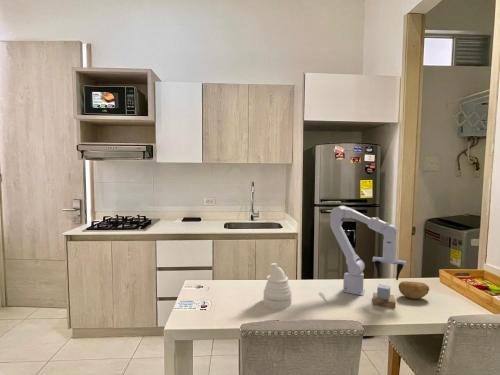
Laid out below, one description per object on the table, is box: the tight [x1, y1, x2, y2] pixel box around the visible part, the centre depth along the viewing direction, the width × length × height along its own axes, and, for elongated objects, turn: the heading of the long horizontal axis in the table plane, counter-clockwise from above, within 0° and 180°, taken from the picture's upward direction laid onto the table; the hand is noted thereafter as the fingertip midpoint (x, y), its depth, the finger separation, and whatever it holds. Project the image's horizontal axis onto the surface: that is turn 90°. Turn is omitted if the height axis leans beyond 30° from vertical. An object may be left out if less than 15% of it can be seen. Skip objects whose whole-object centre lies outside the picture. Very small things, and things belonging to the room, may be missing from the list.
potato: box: [398, 280, 430, 300], centre depth 158 cm, size 10×14×8 cm
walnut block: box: [372, 292, 397, 309], centre depth 152 cm, size 9×9×3 cm
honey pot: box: [262, 262, 293, 310], centre depth 150 cm, size 13×13×18 cm
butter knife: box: [318, 291, 329, 305], centre depth 150 cm, size 1×27×3 cm
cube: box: [376, 283, 391, 300], centre depth 152 cm, size 5×5×5 cm
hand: (388, 278), depth 156 cm, fingers open, 7 cm apart
